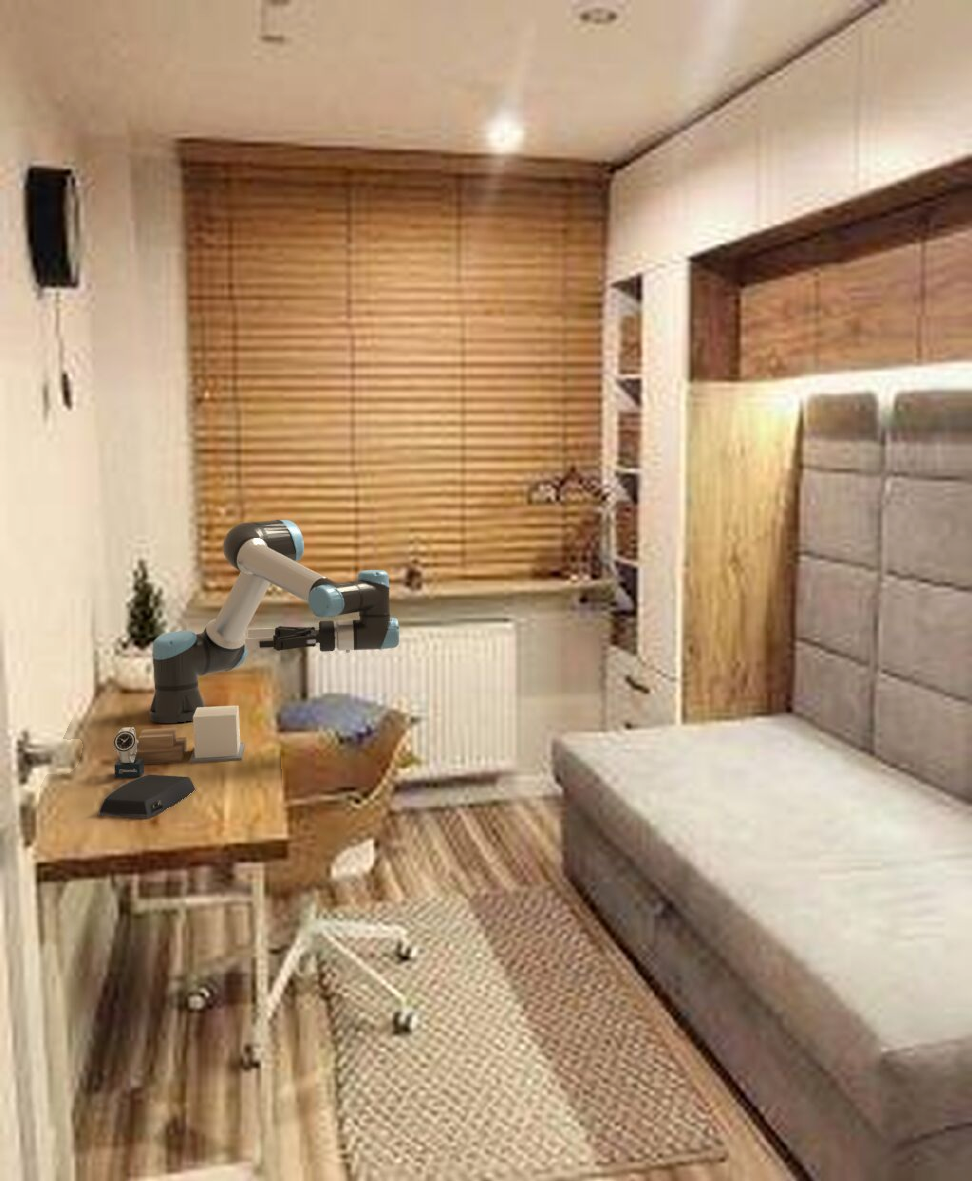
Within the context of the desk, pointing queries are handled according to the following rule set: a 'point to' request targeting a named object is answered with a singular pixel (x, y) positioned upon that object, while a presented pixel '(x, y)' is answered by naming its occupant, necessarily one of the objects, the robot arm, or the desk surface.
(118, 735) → the watch
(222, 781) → the desk surface
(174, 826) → the desk surface
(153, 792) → the external hard drive
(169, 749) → the brown stepped block
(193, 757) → the mat
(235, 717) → the off-white rounded cube
